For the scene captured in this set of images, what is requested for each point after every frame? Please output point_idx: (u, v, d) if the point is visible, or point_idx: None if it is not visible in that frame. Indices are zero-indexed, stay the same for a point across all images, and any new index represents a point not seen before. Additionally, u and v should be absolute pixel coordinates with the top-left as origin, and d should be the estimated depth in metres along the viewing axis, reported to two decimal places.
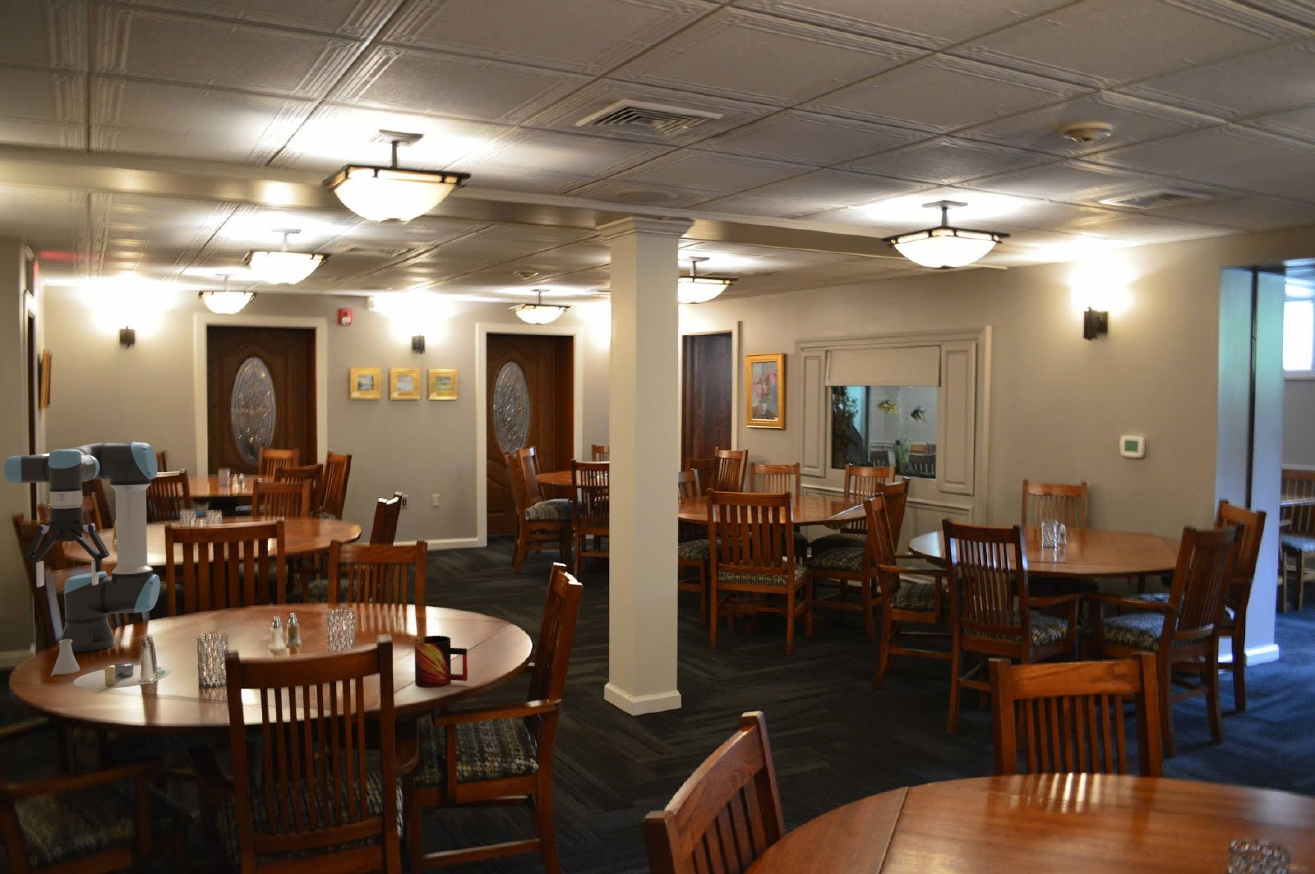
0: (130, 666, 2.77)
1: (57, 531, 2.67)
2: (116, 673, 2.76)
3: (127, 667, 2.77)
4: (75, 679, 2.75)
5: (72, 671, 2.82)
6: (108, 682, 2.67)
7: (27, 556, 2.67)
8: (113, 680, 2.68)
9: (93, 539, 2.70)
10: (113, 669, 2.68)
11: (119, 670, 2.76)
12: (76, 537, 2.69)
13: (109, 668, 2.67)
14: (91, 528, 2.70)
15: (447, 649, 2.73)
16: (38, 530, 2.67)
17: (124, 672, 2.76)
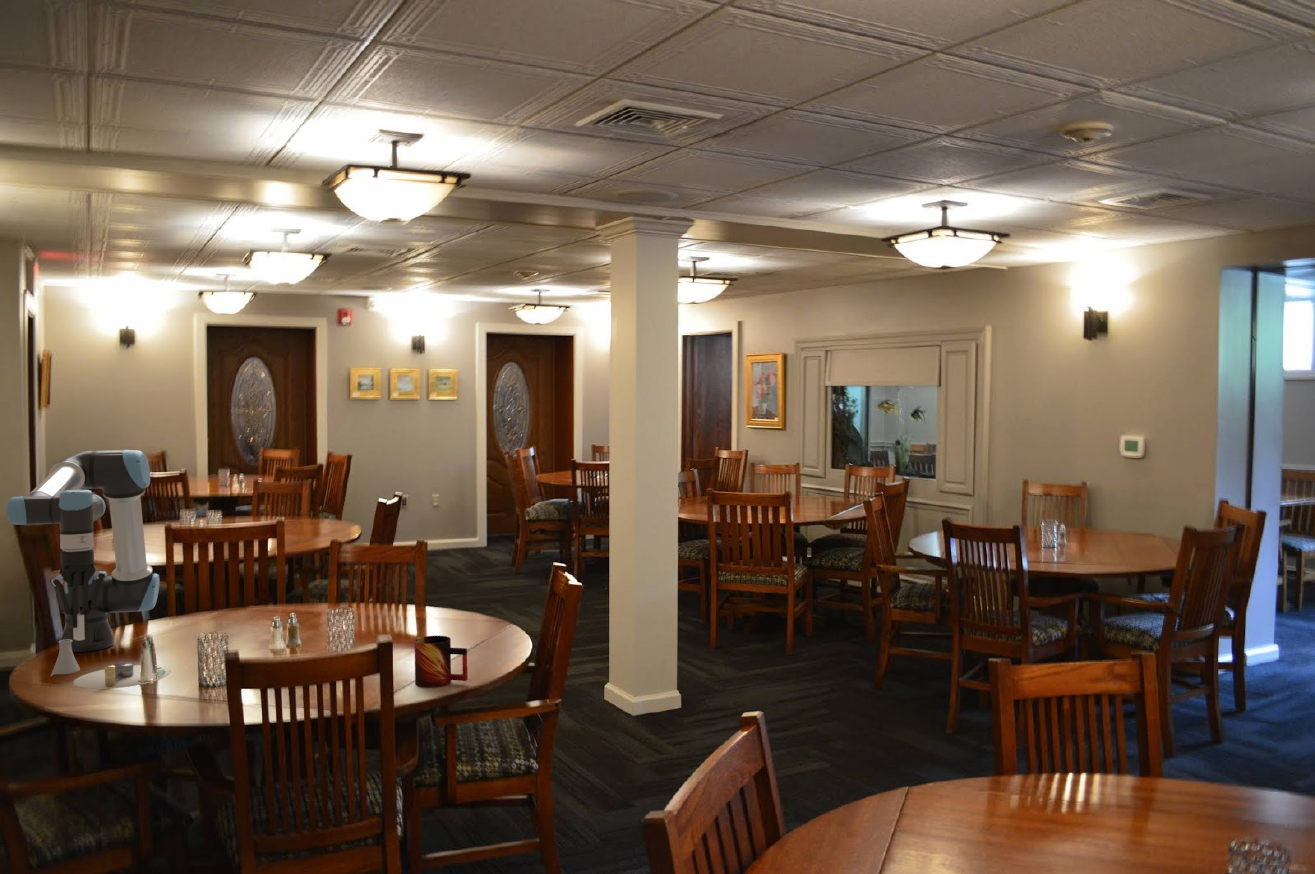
0: (130, 666, 2.77)
1: (75, 576, 2.59)
2: (116, 673, 2.76)
3: (127, 667, 2.77)
4: (75, 679, 2.75)
5: (72, 671, 2.82)
6: (108, 682, 2.67)
7: (67, 610, 2.58)
8: (113, 680, 2.68)
9: (96, 588, 2.64)
10: (113, 669, 2.68)
11: (119, 670, 2.76)
12: (86, 583, 2.61)
13: (109, 668, 2.67)
14: (102, 577, 2.65)
15: (447, 649, 2.73)
16: (57, 584, 2.56)
17: (124, 672, 2.76)
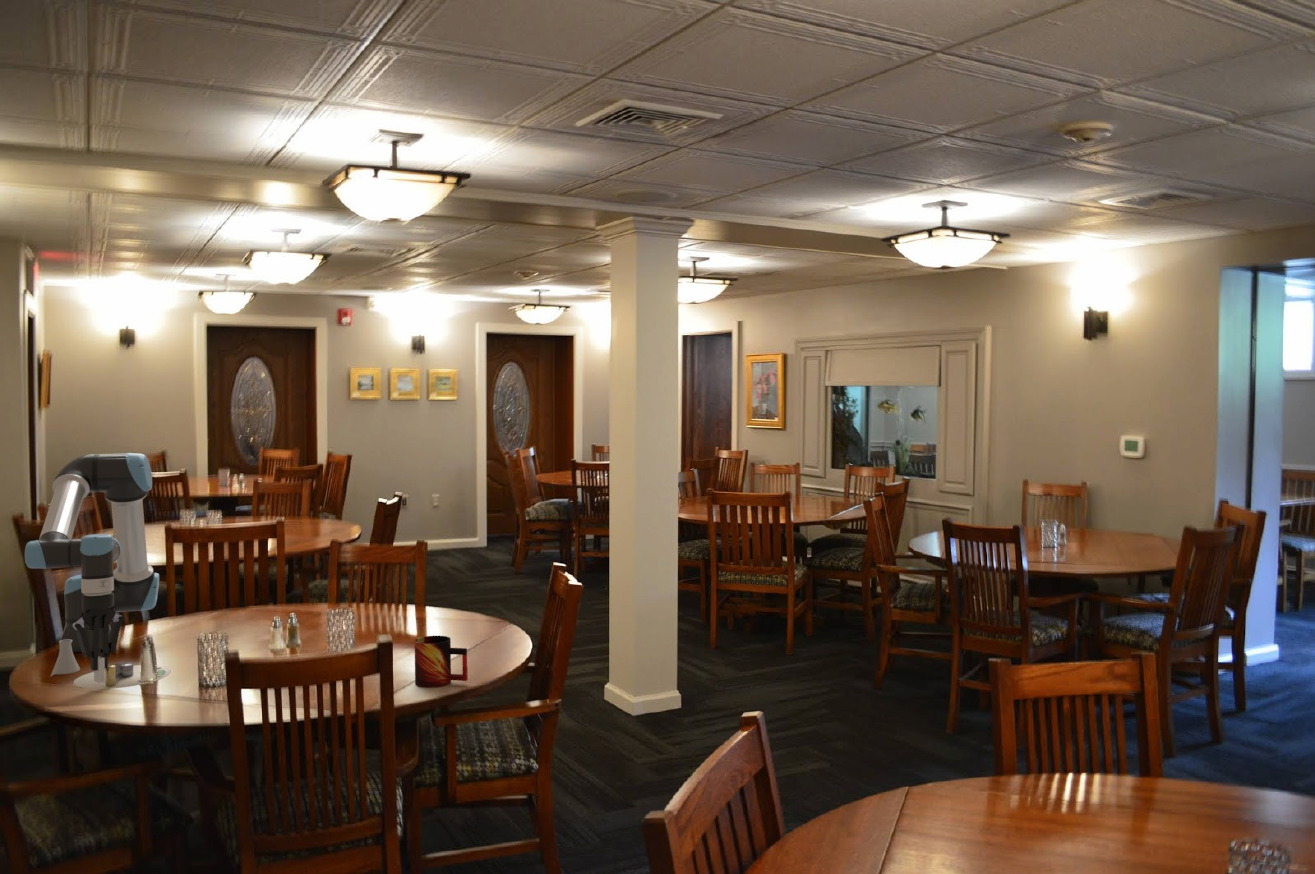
0: (130, 666, 2.77)
1: (96, 619, 2.63)
2: (116, 673, 2.76)
3: (127, 667, 2.77)
4: (75, 679, 2.75)
5: (72, 671, 2.82)
6: (108, 682, 2.67)
7: (88, 653, 2.62)
8: (113, 680, 2.68)
9: (116, 630, 2.68)
10: (113, 669, 2.68)
11: (119, 670, 2.76)
12: (107, 626, 2.65)
13: (109, 668, 2.67)
14: (122, 620, 2.69)
15: (447, 649, 2.73)
16: (79, 628, 2.60)
17: (124, 672, 2.76)
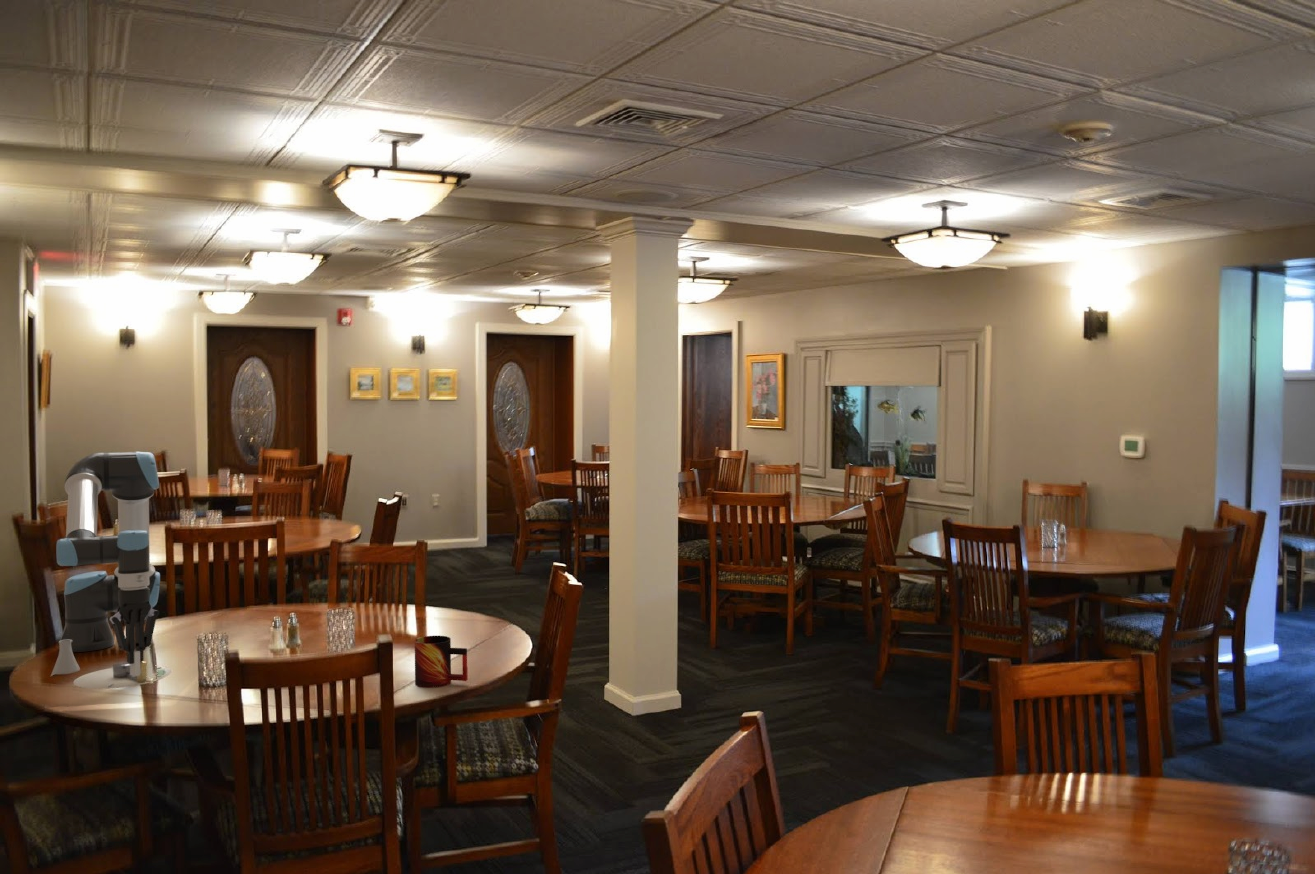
0: None
1: (132, 613, 2.68)
2: (123, 673, 2.76)
3: None
4: (75, 679, 2.75)
5: (72, 671, 2.82)
6: (144, 677, 2.72)
7: (125, 646, 2.67)
8: None
9: (151, 625, 2.73)
10: (146, 664, 2.73)
11: (127, 669, 2.77)
12: (143, 620, 2.71)
13: (145, 664, 2.72)
14: (157, 614, 2.75)
15: (447, 649, 2.73)
16: (116, 621, 2.65)
17: None
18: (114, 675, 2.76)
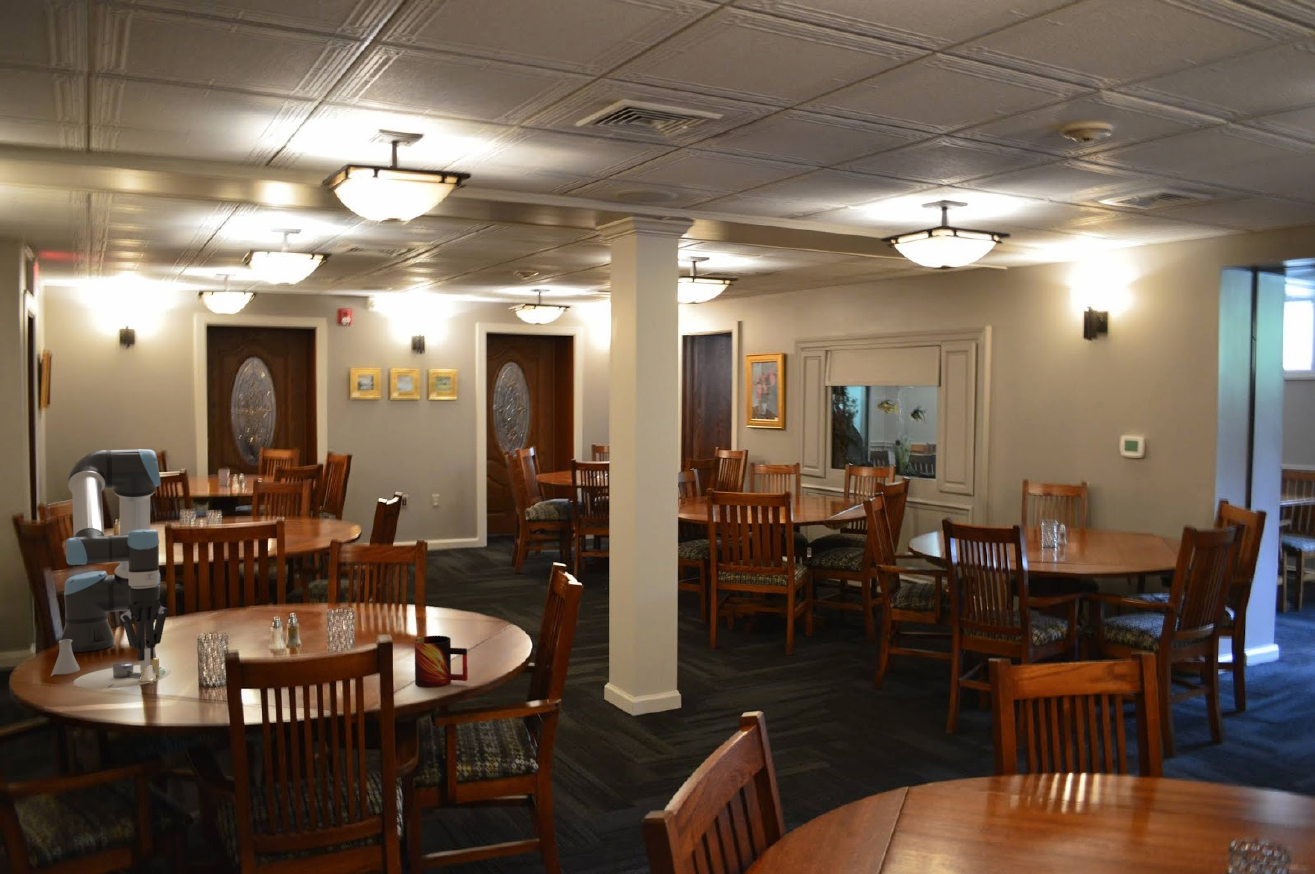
0: None
1: (142, 611, 2.72)
2: (127, 672, 2.77)
3: None
4: (75, 679, 2.75)
5: (72, 671, 2.82)
6: (157, 673, 2.76)
7: (135, 644, 2.72)
8: None
9: (161, 622, 2.77)
10: None
11: (130, 668, 2.78)
12: (153, 618, 2.75)
13: (158, 660, 2.76)
14: (167, 612, 2.79)
15: (447, 649, 2.73)
16: (126, 619, 2.70)
17: (132, 670, 2.79)
18: (117, 675, 2.76)
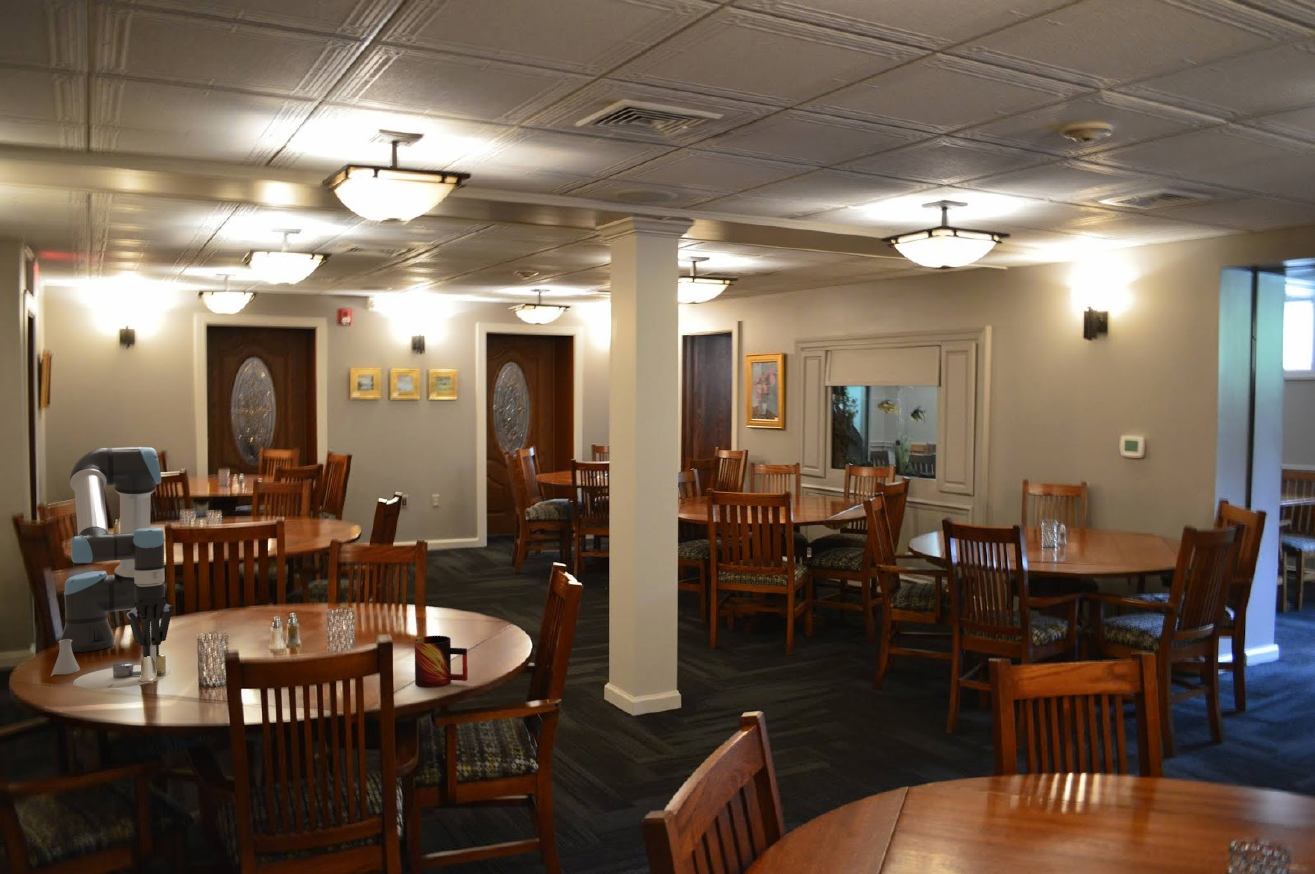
0: None
1: (148, 609, 2.76)
2: (130, 671, 2.77)
3: None
4: (75, 679, 2.75)
5: (72, 671, 2.82)
6: (165, 670, 2.79)
7: (141, 641, 2.75)
8: None
9: (166, 620, 2.81)
10: None
11: (132, 667, 2.78)
12: (158, 615, 2.78)
13: (165, 656, 2.80)
14: (172, 610, 2.82)
15: (447, 649, 2.73)
16: (132, 617, 2.73)
17: None
18: (119, 675, 2.76)
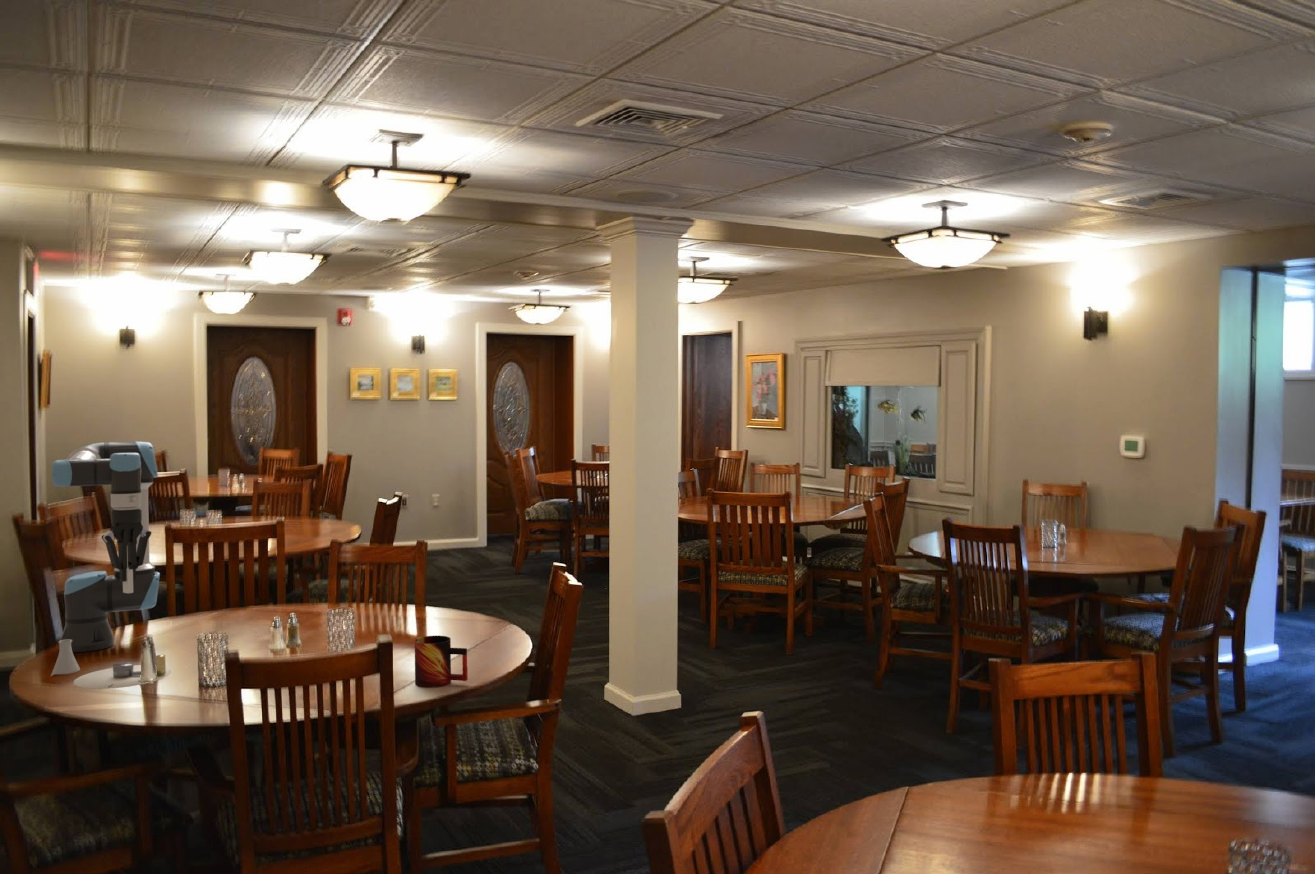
0: None
1: (125, 532, 2.77)
2: (130, 671, 2.77)
3: None
4: (75, 679, 2.75)
5: (72, 671, 2.82)
6: (165, 670, 2.79)
7: (118, 564, 2.76)
8: None
9: (143, 545, 2.82)
10: None
11: (132, 667, 2.78)
12: (135, 539, 2.79)
13: (164, 656, 2.79)
14: (149, 535, 2.83)
15: (447, 649, 2.73)
16: (109, 540, 2.74)
17: None
18: (119, 675, 2.76)
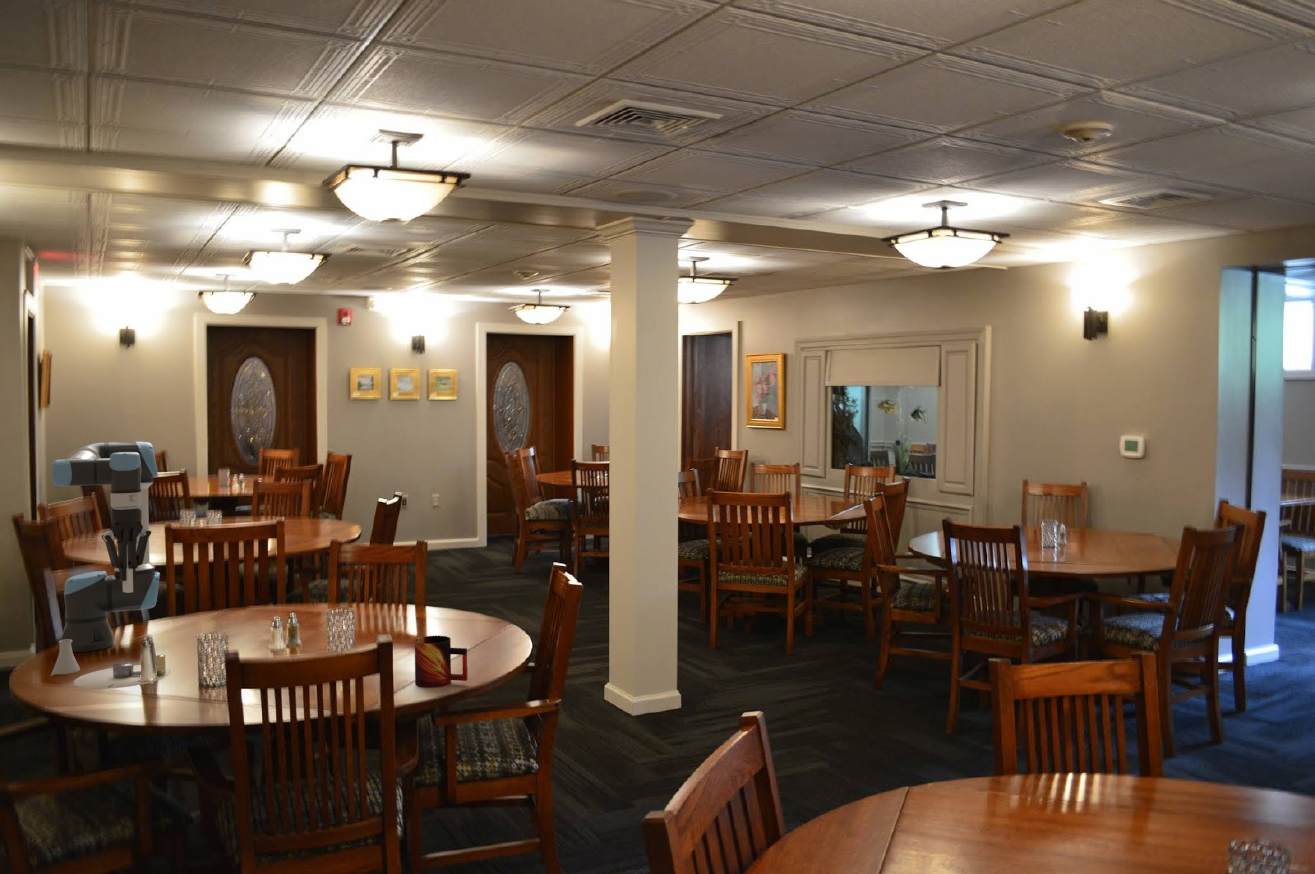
0: None
1: (124, 532, 2.77)
2: (130, 671, 2.77)
3: None
4: (75, 679, 2.75)
5: (72, 671, 2.82)
6: (165, 670, 2.79)
7: (118, 564, 2.76)
8: None
9: (143, 544, 2.82)
10: None
11: (132, 667, 2.78)
12: (135, 539, 2.79)
13: (164, 656, 2.79)
14: (149, 534, 2.83)
15: (447, 649, 2.73)
16: (109, 539, 2.74)
17: None
18: (119, 675, 2.76)
